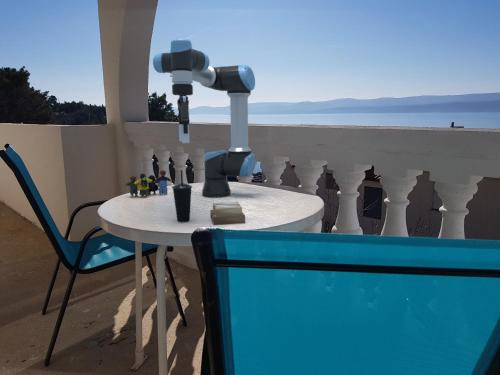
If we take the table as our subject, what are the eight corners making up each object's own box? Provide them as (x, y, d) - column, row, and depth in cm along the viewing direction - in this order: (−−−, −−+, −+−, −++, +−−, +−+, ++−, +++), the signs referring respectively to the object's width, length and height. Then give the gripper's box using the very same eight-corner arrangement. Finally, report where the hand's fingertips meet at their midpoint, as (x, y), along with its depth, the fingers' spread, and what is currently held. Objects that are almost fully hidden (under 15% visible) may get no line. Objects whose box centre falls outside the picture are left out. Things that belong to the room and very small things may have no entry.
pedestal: (210, 217, 151) (210, 201, 150) (239, 215, 153) (239, 200, 152) (213, 225, 139) (213, 208, 138) (245, 223, 142) (245, 207, 140)
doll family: (166, 192, 204) (164, 168, 202) (174, 194, 198) (173, 169, 195) (125, 198, 189) (123, 172, 187) (133, 200, 183) (131, 174, 180)
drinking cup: (174, 218, 149) (172, 169, 145) (193, 217, 150) (192, 168, 146) (172, 223, 141) (170, 171, 138) (192, 222, 142) (190, 171, 139)
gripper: (170, 86, 147) (172, 140, 151) (173, 80, 123) (176, 143, 127) (189, 87, 149) (191, 140, 153) (196, 80, 125) (197, 143, 129)
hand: (184, 142), depth 140 cm, fingers open, 13 cm apart
